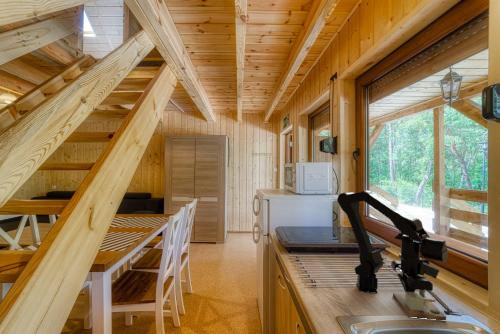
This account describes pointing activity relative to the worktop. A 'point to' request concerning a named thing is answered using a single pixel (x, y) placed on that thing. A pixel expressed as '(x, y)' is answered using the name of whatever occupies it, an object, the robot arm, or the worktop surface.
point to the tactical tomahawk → (443, 304)
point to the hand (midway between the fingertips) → (409, 298)
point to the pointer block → (416, 301)
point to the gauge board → (428, 312)
